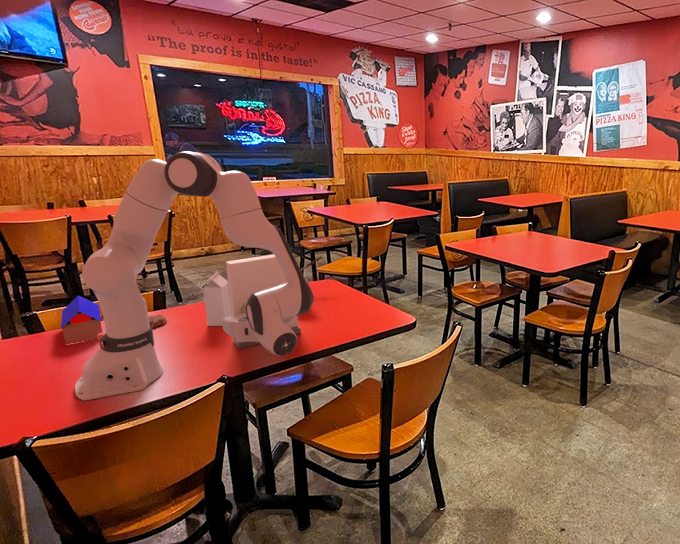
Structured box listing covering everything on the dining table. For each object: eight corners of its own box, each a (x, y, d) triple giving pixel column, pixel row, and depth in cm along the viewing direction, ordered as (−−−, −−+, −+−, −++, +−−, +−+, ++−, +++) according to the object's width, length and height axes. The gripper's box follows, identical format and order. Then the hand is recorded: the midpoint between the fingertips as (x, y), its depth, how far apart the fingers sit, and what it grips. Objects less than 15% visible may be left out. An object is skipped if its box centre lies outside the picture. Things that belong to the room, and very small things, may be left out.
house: (64, 347, 148) (57, 314, 145) (65, 327, 165) (59, 298, 162) (104, 338, 154) (98, 307, 151) (101, 320, 171) (96, 292, 168)
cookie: (131, 330, 161) (130, 322, 160) (148, 319, 171) (147, 312, 170) (156, 331, 159) (155, 323, 159) (171, 320, 170) (170, 313, 169)
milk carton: (232, 319, 168) (227, 271, 163) (226, 326, 161) (220, 276, 156) (214, 319, 169) (209, 271, 164) (207, 326, 162) (201, 276, 157)
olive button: (243, 319, 141) (242, 307, 140) (240, 316, 143) (239, 305, 142) (255, 316, 143) (254, 305, 141) (252, 314, 145) (251, 302, 144)
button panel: (239, 348, 143) (231, 265, 135) (233, 342, 148) (225, 261, 140) (300, 333, 154) (296, 255, 146) (293, 327, 158) (289, 252, 151)
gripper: (295, 308, 134) (278, 297, 145) (229, 323, 124) (216, 309, 135) (297, 328, 135) (279, 315, 147) (231, 344, 125) (218, 328, 137)
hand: (248, 312), depth 141 cm, fingers closed, pressing on olive button
